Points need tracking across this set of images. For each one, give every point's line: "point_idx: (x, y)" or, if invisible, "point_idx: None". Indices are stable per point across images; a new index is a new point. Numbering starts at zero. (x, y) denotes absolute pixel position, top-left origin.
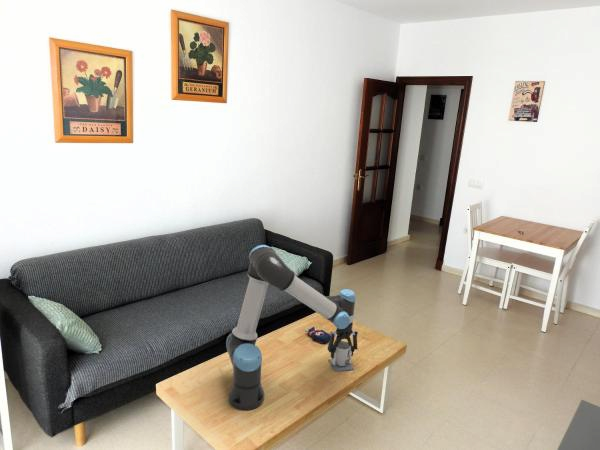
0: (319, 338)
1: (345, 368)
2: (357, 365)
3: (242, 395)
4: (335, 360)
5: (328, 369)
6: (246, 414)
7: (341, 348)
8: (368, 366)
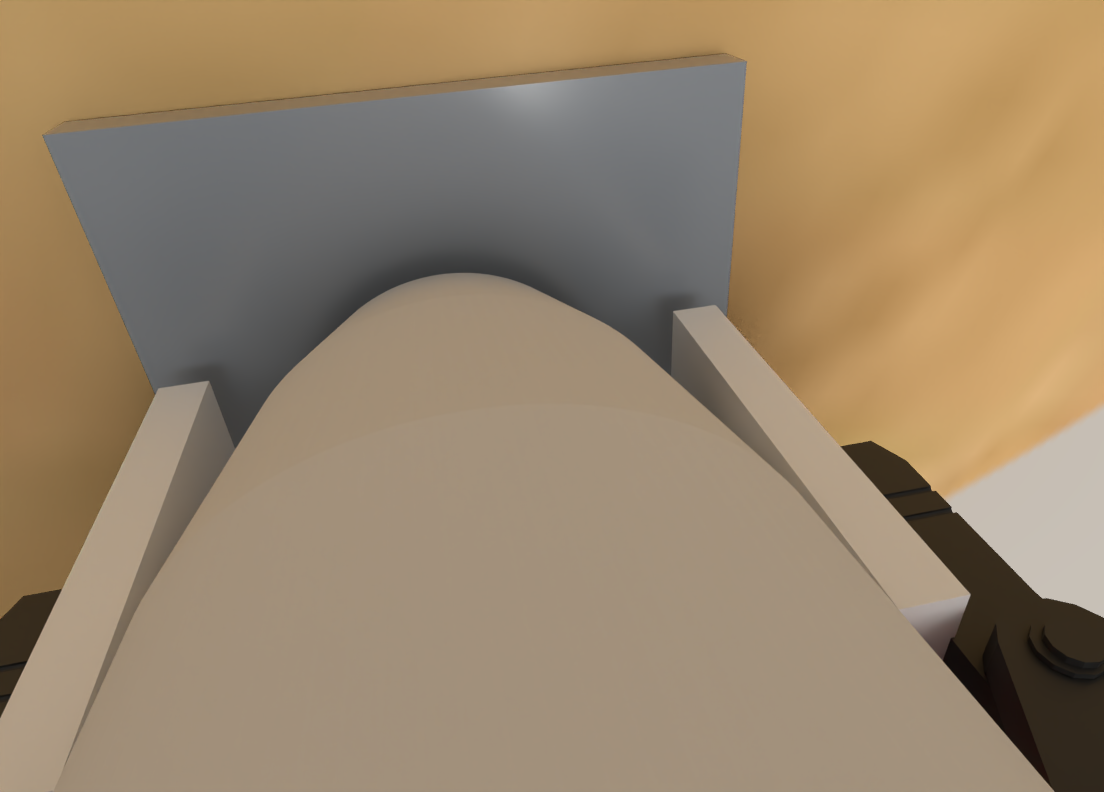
0: None
1: None
2: (844, 370)
3: None
4: (318, 212)
5: (91, 514)
6: None
7: (590, 434)
8: (1031, 404)
